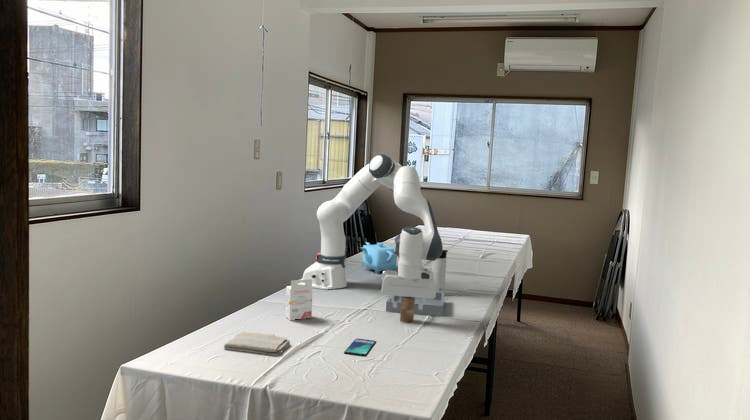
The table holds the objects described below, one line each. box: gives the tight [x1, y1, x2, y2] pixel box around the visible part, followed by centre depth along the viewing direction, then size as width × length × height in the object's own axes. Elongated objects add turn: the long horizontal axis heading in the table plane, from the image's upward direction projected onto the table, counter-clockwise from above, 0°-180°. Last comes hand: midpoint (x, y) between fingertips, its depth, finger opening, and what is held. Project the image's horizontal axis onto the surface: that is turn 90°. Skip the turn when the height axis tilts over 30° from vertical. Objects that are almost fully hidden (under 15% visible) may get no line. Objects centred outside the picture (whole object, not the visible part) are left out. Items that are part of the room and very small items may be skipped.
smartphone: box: [343, 338, 377, 357], centre depth 188 cm, size 7×1×15 cm
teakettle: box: [359, 241, 398, 274], centre depth 305 cm, size 19×19×15 cm
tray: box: [385, 292, 445, 317], centre depth 240 cm, size 22×22×4 cm
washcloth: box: [223, 331, 291, 356], centre depth 183 cm, size 12×18×3 cm, turn 80°
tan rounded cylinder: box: [399, 296, 415, 324], centre depth 219 cm, size 5×5×9 cm
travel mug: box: [430, 249, 448, 294], centre depth 262 cm, size 6×7×20 cm
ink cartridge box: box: [285, 279, 313, 321], centre depth 215 cm, size 9×5×15 cm, turn 117°
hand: (407, 308), depth 219 cm, fingers open, 8 cm apart
